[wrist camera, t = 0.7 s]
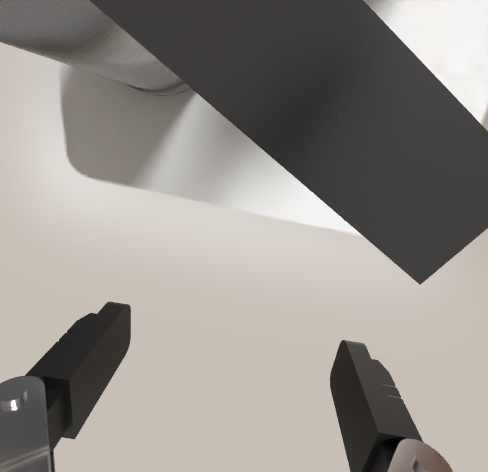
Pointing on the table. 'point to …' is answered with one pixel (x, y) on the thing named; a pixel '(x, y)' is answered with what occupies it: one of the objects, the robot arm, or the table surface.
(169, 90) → the canister
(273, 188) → the table surface
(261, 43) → the lid
